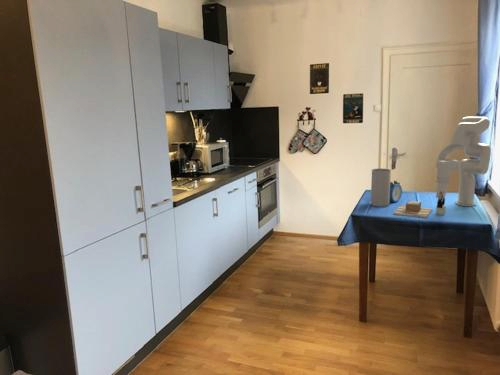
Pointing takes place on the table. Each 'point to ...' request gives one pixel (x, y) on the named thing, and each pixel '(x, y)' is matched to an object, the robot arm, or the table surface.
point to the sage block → (441, 210)
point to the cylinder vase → (380, 187)
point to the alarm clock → (395, 191)
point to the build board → (421, 214)
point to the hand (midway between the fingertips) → (440, 206)
